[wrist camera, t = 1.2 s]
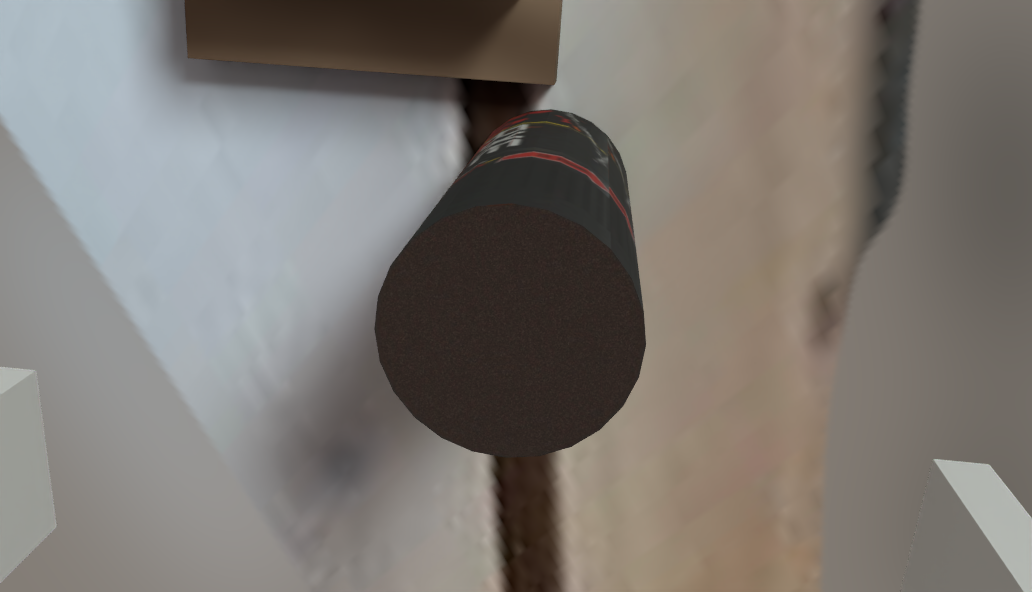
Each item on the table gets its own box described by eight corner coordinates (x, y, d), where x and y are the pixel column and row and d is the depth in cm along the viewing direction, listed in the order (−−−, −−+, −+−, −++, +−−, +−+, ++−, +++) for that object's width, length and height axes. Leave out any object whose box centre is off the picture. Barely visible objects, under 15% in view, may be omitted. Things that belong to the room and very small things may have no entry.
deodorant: (552, 74, 32) (513, 144, 18) (660, 194, 33) (703, 348, 19) (437, 184, 34) (319, 325, 20) (544, 295, 35) (504, 504, 21)
